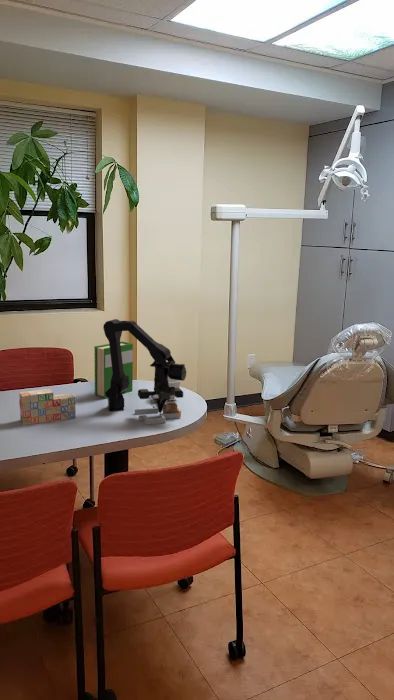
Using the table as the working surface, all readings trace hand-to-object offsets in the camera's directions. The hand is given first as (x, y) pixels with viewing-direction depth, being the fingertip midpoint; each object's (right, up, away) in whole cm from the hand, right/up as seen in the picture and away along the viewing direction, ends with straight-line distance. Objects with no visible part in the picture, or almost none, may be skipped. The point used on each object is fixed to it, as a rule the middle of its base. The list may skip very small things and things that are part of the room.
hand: (159, 412), depth 234 cm
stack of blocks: (-46, -2, -9) cm, 46 cm away
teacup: (+2, +4, +24) cm, 25 cm away
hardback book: (-24, +6, +30) cm, 39 cm away
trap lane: (-1, -1, 0) cm, 2 cm away
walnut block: (+4, -1, +2) cm, 5 cm away
